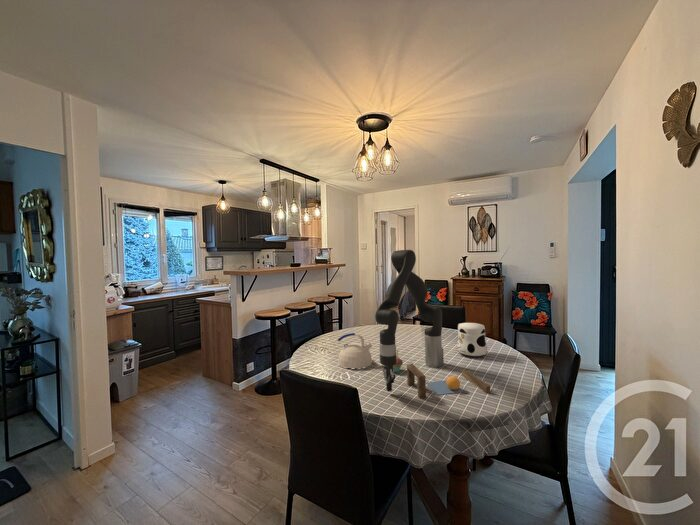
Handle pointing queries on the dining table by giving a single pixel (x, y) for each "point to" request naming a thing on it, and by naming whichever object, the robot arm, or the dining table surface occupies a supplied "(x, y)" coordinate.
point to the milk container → (471, 339)
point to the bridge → (421, 379)
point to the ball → (453, 382)
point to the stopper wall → (476, 381)
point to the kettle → (355, 354)
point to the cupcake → (397, 364)
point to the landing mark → (442, 388)
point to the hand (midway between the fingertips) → (389, 390)
